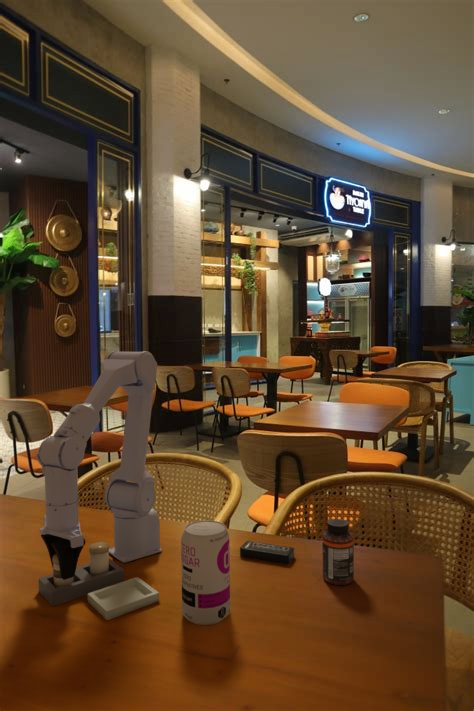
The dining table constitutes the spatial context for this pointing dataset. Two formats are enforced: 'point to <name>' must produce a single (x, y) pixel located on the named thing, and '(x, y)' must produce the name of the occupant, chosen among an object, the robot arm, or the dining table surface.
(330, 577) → the supplement bottle
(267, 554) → the multiport hub
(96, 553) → the cylinder
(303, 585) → the dining table surface
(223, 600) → the supplement can
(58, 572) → the fuse
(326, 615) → the dining table surface
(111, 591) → the parts tray
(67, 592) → the block
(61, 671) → the dining table surface
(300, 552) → the dining table surface
